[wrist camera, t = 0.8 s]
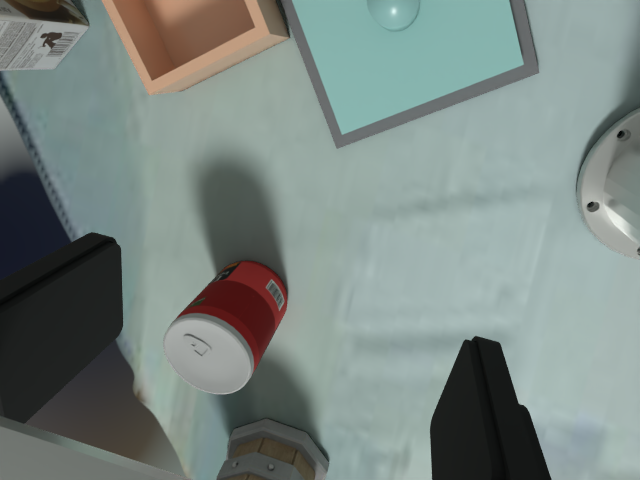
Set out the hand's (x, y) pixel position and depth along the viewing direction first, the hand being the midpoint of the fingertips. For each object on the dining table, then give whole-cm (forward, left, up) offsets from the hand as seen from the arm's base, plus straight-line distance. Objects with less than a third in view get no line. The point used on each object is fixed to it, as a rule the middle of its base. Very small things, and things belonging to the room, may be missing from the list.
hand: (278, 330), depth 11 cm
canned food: (+17, +10, -27) cm, 34 cm away
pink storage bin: (+9, -16, -27) cm, 33 cm away
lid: (-5, -9, -26) cm, 28 cm away
